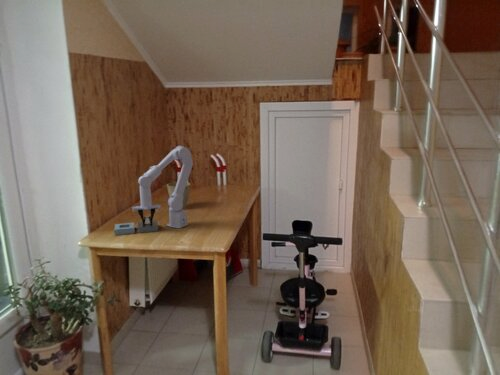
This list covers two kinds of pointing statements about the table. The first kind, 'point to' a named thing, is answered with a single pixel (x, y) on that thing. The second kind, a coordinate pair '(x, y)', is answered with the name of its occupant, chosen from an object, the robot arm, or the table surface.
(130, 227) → the block
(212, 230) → the table surface
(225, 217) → the table surface
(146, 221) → the aluminium peg
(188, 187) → the plant pot
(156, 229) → the charcoal stand
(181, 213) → the robot arm
